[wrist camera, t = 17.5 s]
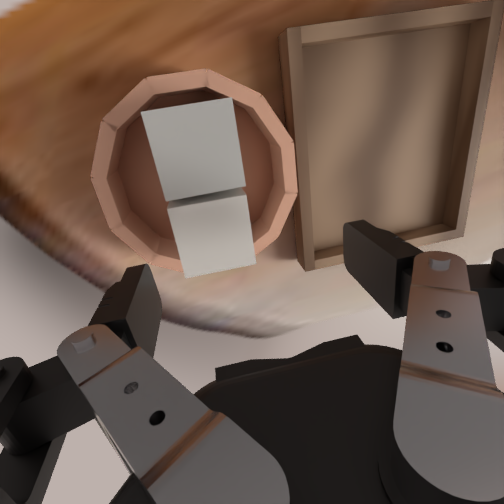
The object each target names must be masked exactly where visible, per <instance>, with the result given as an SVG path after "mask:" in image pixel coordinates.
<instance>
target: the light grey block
mask: <svg viewBox="0 0 504 504" xmlns="http://www.w3.org/2000/svg"><path fill="white" fill-rule="evenodd" d="M141 115H142V119H143V122H144V126H145V129H146V133H147V136H148V140H149V143H150V147H151V151H152V154H153V158H154V161H155V165H156V168H157V172H158V175H159V179H160V182H161V186H162V189H163V193H164V197H165V200H166V201H171V200H177V199H182V198H187V197H192V196H197V195H203V194H208V193H213V192H218V191H223V190H229V189H234V188H239V187H244V186H246V183H245V176H244V170H243V164H242V157H241V151H240V145H239V138H238V132H237V126H236V119H235V113H234V107H233V100H232V97H229V98H223V99H217V100H211V101H204V102H198V103H192V104H186V105H180V106H173V107H167V108H161V109H155V110H149V111H142V112H141Z"/></svg>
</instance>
